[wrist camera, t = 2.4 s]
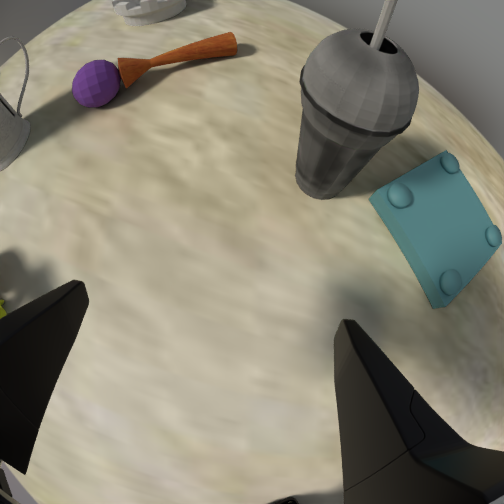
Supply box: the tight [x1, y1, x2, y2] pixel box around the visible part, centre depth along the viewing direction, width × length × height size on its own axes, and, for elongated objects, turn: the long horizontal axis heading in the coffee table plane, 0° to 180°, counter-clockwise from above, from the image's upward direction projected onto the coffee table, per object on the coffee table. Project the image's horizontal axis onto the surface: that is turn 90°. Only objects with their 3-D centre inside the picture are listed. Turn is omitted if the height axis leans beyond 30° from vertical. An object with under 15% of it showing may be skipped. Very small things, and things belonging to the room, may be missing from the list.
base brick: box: [369, 150, 502, 309], centre depth 23 cm, size 12×12×3 cm
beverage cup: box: [295, 0, 419, 200], centre depth 16 cm, size 7×7×20 cm
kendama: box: [72, 32, 237, 107], centre depth 27 cm, size 6×6×20 cm
